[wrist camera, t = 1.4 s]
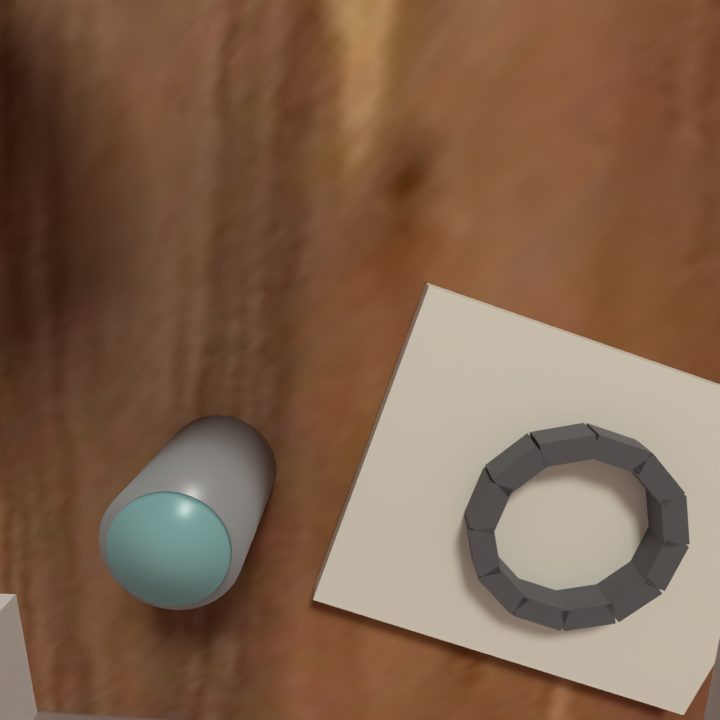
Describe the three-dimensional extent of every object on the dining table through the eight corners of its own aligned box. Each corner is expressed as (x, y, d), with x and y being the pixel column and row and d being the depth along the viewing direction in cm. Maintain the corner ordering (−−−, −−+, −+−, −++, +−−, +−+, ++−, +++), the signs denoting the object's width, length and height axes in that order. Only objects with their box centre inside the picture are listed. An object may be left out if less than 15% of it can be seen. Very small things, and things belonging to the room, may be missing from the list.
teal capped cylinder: (154, 498, 31) (80, 591, 23) (181, 400, 29) (111, 464, 22) (258, 531, 31) (219, 633, 23) (289, 436, 30) (259, 511, 22)
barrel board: (315, 582, 32) (309, 620, 29) (426, 282, 28) (432, 289, 25) (669, 693, 33) (699, 740, 30) (828, 421, 29) (881, 445, 26)
